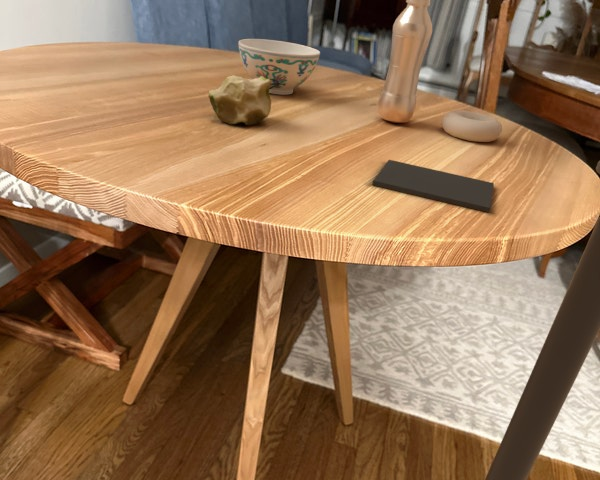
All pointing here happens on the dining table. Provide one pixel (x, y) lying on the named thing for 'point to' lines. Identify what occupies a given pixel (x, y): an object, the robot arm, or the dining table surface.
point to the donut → (471, 126)
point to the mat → (435, 185)
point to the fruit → (242, 100)
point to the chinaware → (278, 62)
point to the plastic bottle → (405, 62)
